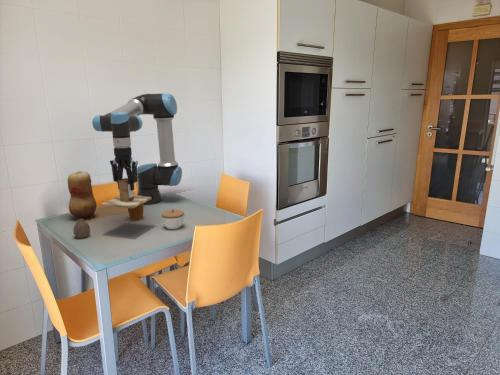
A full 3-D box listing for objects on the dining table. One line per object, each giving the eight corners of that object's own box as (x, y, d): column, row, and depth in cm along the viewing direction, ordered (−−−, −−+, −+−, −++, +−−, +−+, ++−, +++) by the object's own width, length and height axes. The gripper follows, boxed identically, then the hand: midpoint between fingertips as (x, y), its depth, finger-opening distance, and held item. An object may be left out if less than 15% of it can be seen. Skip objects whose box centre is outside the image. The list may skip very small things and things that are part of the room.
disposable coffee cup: (123, 220, 187) (121, 198, 184) (136, 215, 195) (134, 194, 192) (136, 223, 183) (134, 200, 180) (149, 218, 191) (148, 196, 188)
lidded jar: (182, 231, 171) (181, 213, 169) (160, 231, 171) (158, 212, 169) (186, 224, 182) (185, 206, 179) (165, 224, 182) (164, 206, 180)
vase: (86, 233, 169) (84, 215, 167) (93, 237, 165) (91, 218, 163) (71, 237, 164) (69, 219, 162) (78, 241, 160) (76, 222, 158)
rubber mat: (125, 223, 183) (125, 222, 183) (156, 226, 178) (156, 226, 178) (101, 235, 166) (101, 235, 166) (135, 239, 161) (135, 239, 161)
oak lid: (123, 196, 179) (121, 175, 176) (151, 199, 174) (150, 176, 171) (101, 205, 164) (99, 182, 161) (132, 208, 159) (129, 184, 157)
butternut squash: (65, 222, 186) (59, 174, 180) (76, 214, 199) (71, 169, 193) (92, 221, 186) (87, 174, 180) (102, 213, 199) (97, 169, 193)
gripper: (100, 147, 162) (106, 197, 167) (133, 148, 157) (138, 200, 162) (111, 145, 169) (116, 193, 174) (143, 146, 164) (147, 195, 169)
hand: (127, 196), depth 168 cm, fingers closed on oak lid, 4 cm apart
